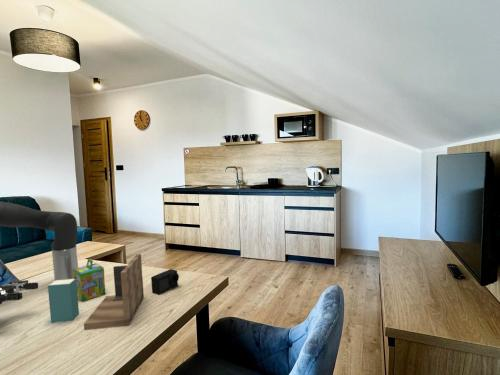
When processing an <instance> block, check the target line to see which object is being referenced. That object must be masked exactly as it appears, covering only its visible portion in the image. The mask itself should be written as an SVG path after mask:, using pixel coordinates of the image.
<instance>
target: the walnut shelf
mask: <svg viewBox="0 0 500 375" xmlns="http://www.w3.org/2000/svg"><path fill="white" fill-rule="evenodd" d="M142 266H143V265H142V254H141V253H136V255H135V256H134V257H133V258H132V259H131V261H129V263H128V264H127V265H115V266H113V281H114V293H115V294H114V295H106V296H105V297H104V299H103V300H101V302H100V303H99V304H98V306H97V307H96V308H95V309H94V310H93V312H92V313H91V314H90V315H89V317H88V318H87V319H86V320H85V322H84V323H83V329H84V330H94V329H95V330H96V329H104V328H113V327H114V328H115V327H123V326H124V327H125V326H130V325H131V323H132V321H133V319H134V317H135V315H136V313H137V311H138V310H139V308H140V306H141V304H142V302H143V300H144V297H145V296H144V281H143V280H144V279H143V267H142Z"/></svg>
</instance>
